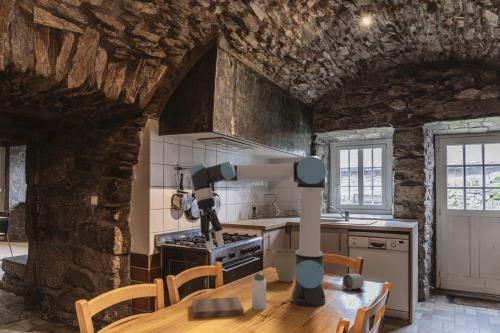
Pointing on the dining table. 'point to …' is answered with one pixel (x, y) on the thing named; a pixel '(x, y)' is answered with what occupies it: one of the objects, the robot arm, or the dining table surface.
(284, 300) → the dining table surface
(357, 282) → the ceramic mug
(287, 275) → the plant pot
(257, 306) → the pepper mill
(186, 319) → the dining table surface
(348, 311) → the dining table surface
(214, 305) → the walnut board
